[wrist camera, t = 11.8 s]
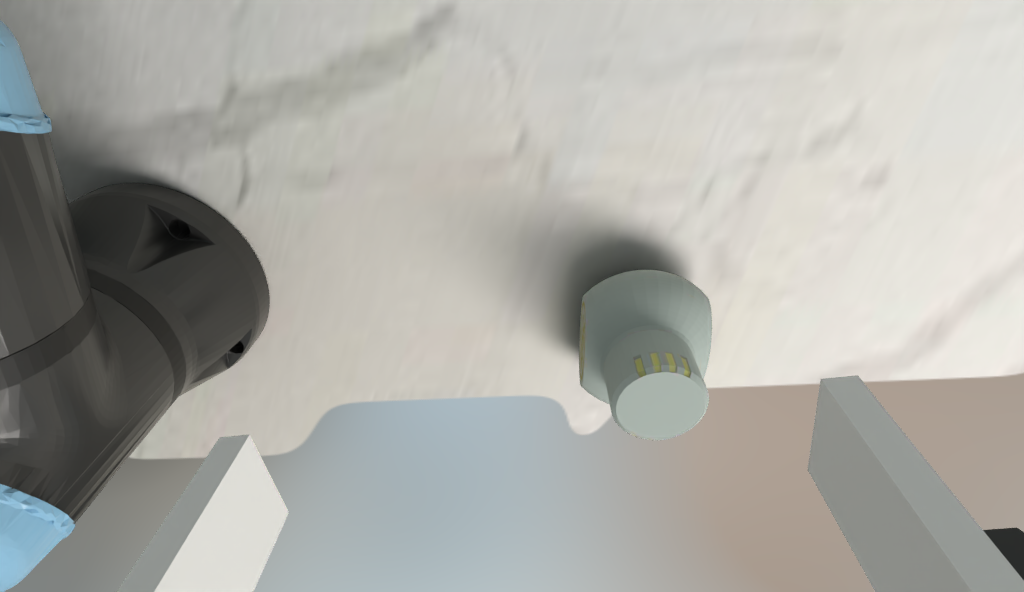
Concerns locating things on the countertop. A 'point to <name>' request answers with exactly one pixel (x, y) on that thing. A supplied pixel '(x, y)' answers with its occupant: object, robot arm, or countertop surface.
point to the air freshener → (647, 351)
